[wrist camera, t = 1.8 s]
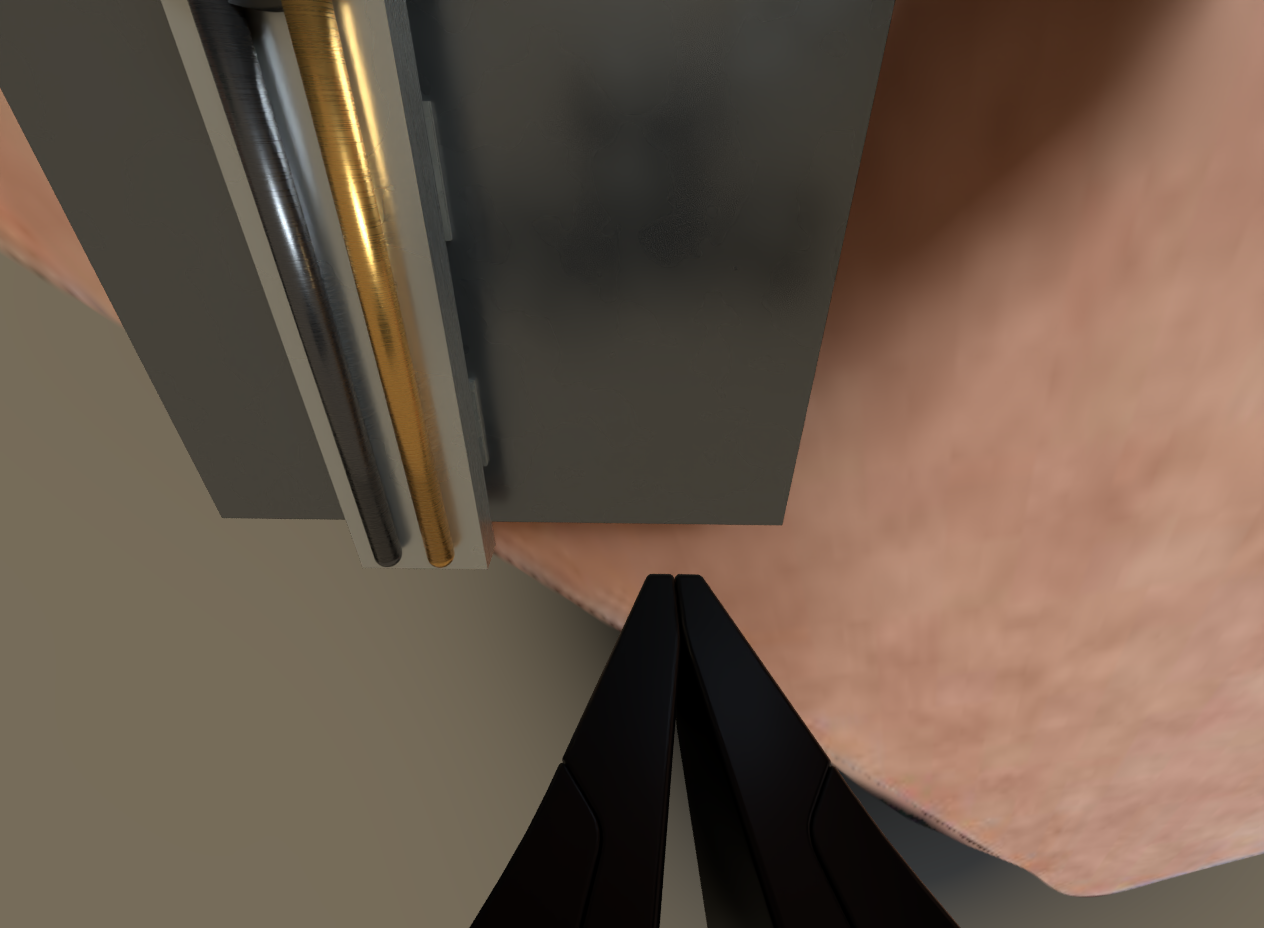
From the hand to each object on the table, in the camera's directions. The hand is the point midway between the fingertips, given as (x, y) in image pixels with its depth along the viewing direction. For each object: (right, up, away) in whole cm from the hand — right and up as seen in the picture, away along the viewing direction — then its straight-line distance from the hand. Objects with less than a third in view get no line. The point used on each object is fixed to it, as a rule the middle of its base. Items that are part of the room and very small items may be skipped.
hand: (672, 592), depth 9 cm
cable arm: (-7, +7, +5) cm, 12 cm away
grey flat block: (-5, +10, +9) cm, 14 cm away
